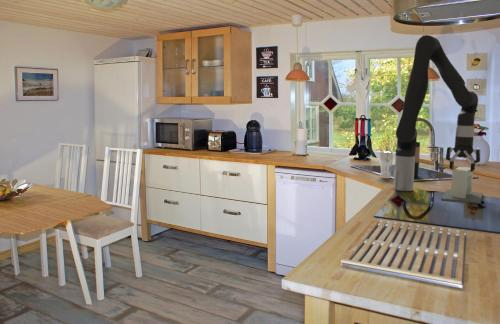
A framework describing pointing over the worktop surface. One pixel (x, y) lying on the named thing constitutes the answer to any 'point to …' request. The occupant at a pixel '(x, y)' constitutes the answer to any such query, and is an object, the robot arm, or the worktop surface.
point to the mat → (471, 198)
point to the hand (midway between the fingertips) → (461, 170)
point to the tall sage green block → (461, 182)
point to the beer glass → (386, 164)
